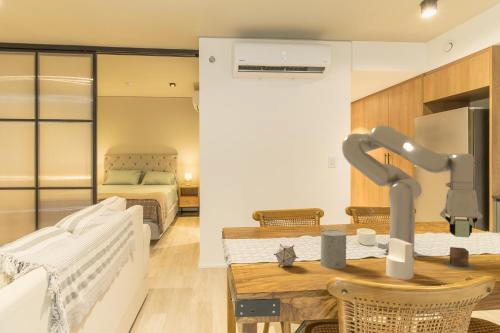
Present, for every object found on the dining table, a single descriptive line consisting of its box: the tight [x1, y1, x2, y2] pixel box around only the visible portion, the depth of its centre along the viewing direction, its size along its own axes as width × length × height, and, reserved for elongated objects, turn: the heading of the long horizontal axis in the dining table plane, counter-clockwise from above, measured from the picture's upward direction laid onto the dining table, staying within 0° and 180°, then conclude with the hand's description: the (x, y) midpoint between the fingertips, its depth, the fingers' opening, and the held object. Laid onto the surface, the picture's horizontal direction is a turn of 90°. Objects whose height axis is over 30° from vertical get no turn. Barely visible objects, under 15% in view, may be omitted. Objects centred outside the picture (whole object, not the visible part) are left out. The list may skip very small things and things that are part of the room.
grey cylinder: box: [320, 229, 348, 270], centre depth 136 cm, size 10×10×12 cm
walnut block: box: [449, 246, 470, 267], centre depth 136 cm, size 5×5×6 cm
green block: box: [453, 218, 470, 238], centre depth 135 cm, size 4×4×6 cm
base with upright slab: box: [385, 237, 415, 281], centre depth 125 cm, size 9×9×12 cm
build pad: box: [442, 260, 477, 271], centre depth 136 cm, size 9×9×1 cm
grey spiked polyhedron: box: [273, 243, 299, 269], centre depth 134 cm, size 9×8×10 cm
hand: (460, 234), depth 135 cm, fingers closed on green block, 4 cm apart
